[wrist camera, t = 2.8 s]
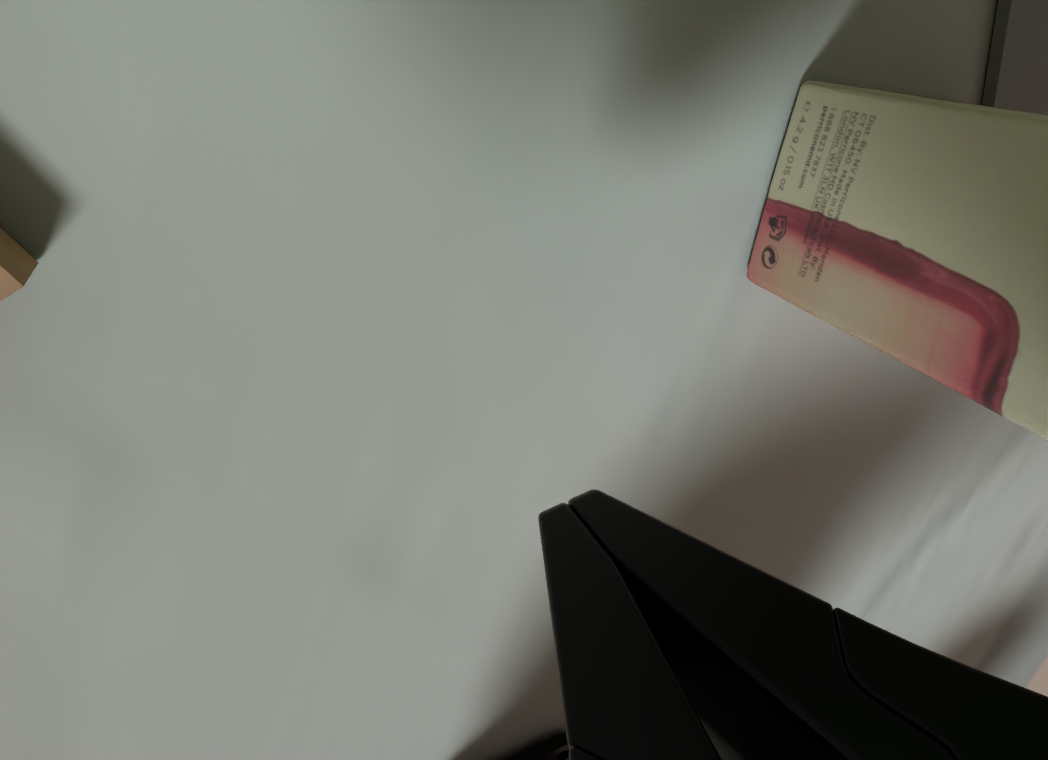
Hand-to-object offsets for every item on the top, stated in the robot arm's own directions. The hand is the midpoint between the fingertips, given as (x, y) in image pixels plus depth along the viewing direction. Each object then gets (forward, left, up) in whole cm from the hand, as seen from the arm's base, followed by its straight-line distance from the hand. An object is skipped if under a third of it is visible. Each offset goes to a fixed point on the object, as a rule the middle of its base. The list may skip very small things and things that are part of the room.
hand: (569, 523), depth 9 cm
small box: (0, -10, -6) cm, 11 cm away
